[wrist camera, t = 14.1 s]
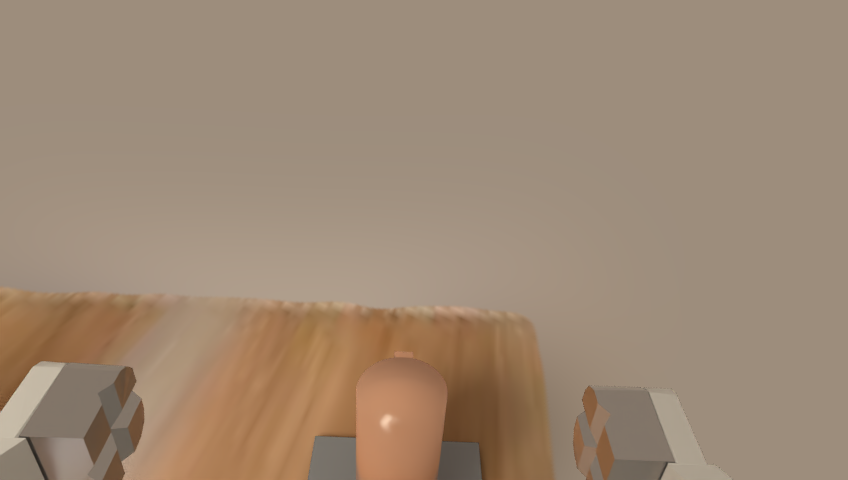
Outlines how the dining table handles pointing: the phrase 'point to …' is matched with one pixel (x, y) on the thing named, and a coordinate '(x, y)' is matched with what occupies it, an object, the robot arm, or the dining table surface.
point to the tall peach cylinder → (399, 420)
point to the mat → (338, 460)
